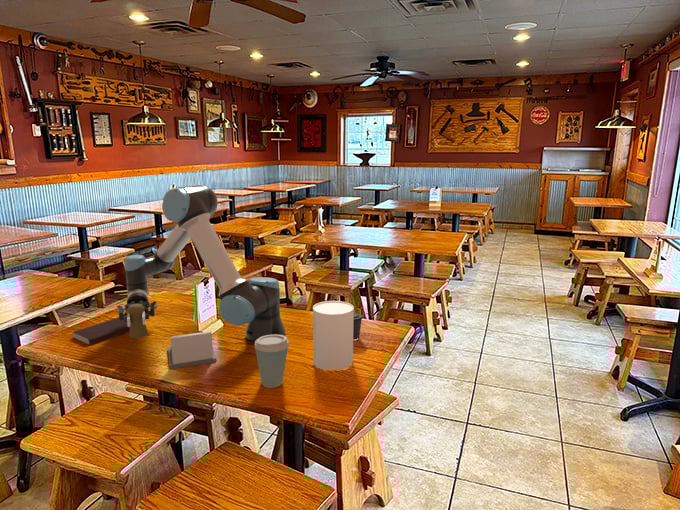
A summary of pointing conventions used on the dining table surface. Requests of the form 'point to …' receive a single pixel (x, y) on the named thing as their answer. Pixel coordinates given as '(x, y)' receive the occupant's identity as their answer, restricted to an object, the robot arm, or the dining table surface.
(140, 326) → the cork
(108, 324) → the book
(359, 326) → the coffee cup
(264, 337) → the disposable coffee cup
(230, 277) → the robot arm
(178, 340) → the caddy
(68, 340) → the dining table surface
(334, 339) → the canister
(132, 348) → the dining table surface
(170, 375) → the dining table surface
